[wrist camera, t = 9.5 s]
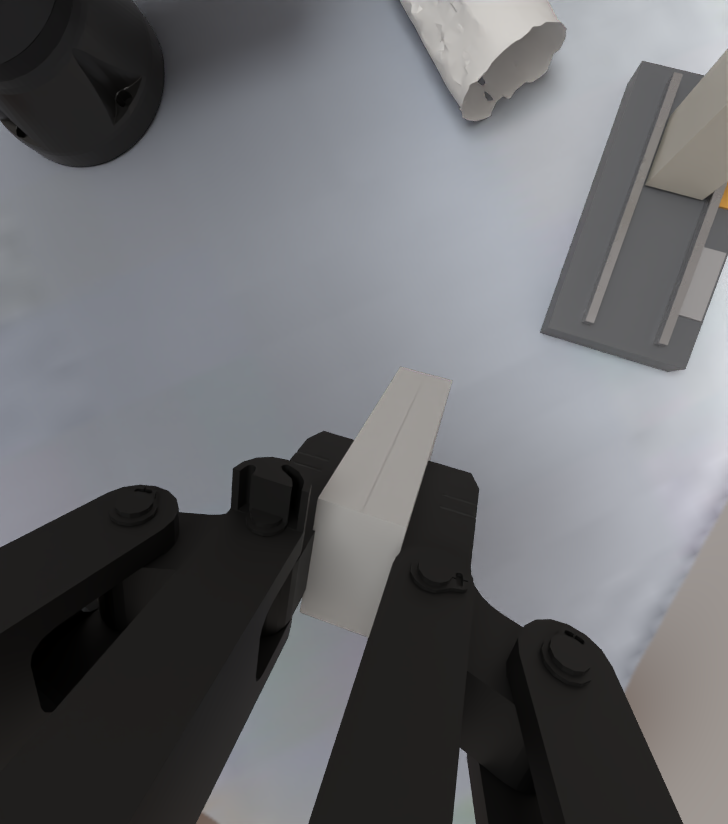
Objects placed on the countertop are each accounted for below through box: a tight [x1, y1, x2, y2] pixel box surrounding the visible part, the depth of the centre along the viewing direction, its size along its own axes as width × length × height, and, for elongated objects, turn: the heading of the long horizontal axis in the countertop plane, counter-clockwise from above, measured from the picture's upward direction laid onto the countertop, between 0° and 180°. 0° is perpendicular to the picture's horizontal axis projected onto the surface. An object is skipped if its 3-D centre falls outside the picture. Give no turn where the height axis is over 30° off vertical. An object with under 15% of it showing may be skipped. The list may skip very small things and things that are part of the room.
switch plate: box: [540, 61, 728, 372], centre depth 35 cm, size 20×10×4 cm, turn 161°
